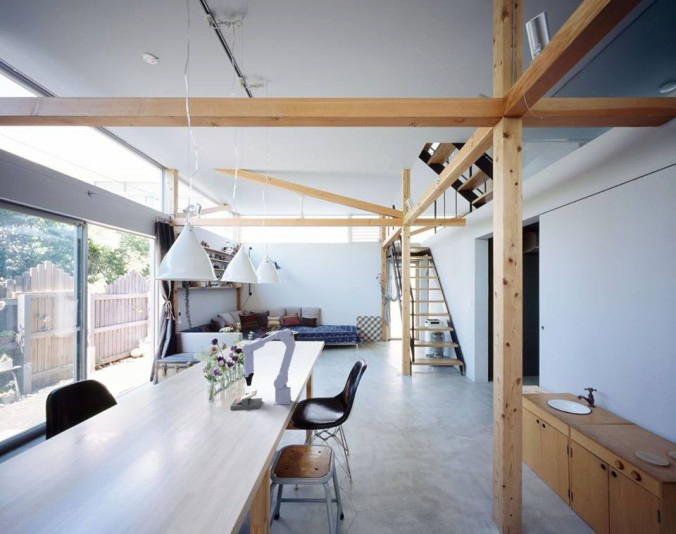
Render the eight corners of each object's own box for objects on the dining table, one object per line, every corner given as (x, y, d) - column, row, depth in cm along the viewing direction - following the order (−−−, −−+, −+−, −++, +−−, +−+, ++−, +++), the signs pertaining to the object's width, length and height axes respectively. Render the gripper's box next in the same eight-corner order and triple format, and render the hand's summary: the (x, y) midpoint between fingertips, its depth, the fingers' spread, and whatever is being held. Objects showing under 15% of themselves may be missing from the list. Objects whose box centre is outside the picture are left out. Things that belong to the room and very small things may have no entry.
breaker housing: (261, 401, 195) (261, 392, 195) (258, 408, 184) (258, 398, 184) (235, 402, 194) (235, 393, 194) (230, 409, 183) (230, 400, 183)
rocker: (257, 391, 193) (256, 389, 193) (255, 395, 187) (254, 393, 187) (238, 400, 192) (237, 398, 192) (236, 404, 186) (235, 402, 186)
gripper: (244, 360, 204) (245, 382, 203) (239, 366, 189) (239, 389, 189) (256, 360, 204) (256, 381, 204) (251, 366, 190) (251, 389, 189)
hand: (249, 385), depth 196 cm, fingers closed
